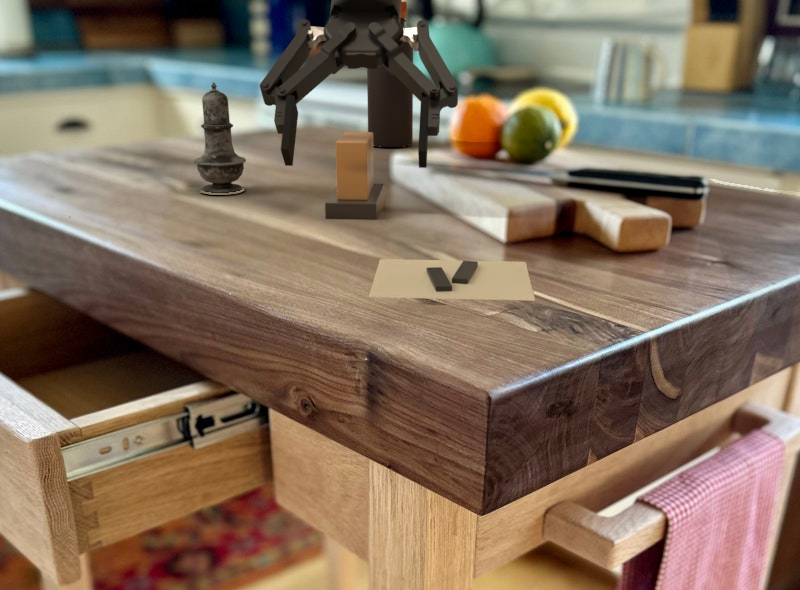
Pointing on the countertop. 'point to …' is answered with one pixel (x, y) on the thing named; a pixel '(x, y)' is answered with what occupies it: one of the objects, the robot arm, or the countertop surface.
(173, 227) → the countertop surface
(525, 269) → the memo board
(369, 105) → the bottle
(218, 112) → the salt shaker
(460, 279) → the stroke
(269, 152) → the countertop surface
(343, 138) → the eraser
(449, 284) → the stroke
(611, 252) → the countertop surface
